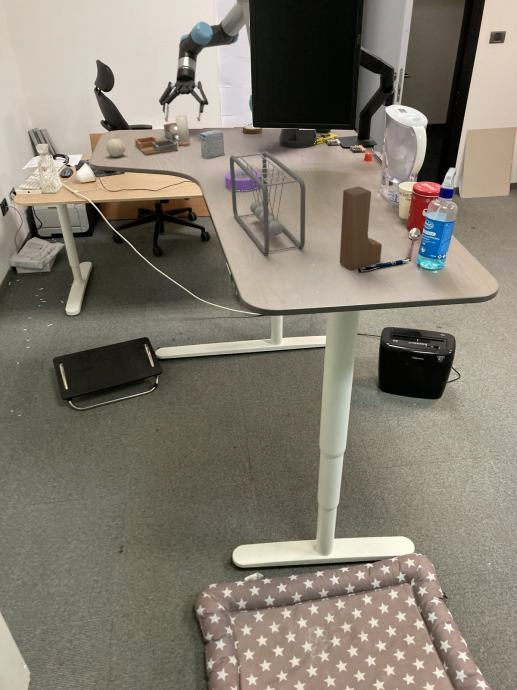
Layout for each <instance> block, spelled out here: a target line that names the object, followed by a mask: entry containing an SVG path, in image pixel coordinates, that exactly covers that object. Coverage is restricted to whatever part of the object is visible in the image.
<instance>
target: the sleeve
mask: <svg viewBox="0 0 517 690" xmlns="http://www.w3.org/2000/svg"><path fill="white" fill-rule="evenodd" d="M175 121H176V122H175V123H177V132H178V140H179V141H178V143H177V144H178V147H181V146H186V147H189V145H190V146H191V140H190V133H189V125H188V124H189V122H188V116H187V115H177V116H175Z"/></svg>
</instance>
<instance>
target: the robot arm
mask: <svg viewBox="0 0 517 690" xmlns="http://www.w3.org/2000/svg"><path fill="white" fill-rule="evenodd" d="M244 27H245V28H246V34H247V38H248V39H247V41H248V45H249V47H250V26H249V0H236V3H235V4H234V5H233V6H232V8H231V9H230V10H229V12H228V13H227V14H226V15H225V16H224V18H223V19H222V20H221V21H220V23H219V24H213V25H212V24H211V25H210V24H209V23H207V22H205V21H198V22H197V23H196V24H195V25H194V26H193V28H192V29H191V31H190V32H189V33H186V34H184V35H182V36H181V37H180V40H179V47H178V48H179V49H178V60H177V70H176V79H175V80H176V81H175V82H174V83H172V81H168V82H167V87H166V88H165V90H164V92H163V93H162V94H161V96H160V98H159V99H158V102H159V104H160V106H162V112H163V114H164V116H163V118H164V120H165V122H169V112H170V106H169V105H170V104H171V103H172V102H173V101H174V100H175V99H176V98H177V97H178V96H180V95H190V94H191V96H192V97H193V98H194V99H195V101H197V110H196V111H197V112H196V119H197V122H201V115H202V114H203V113H204V108H205V106H208V105H209V101H208V98H207V96H206V94H205V92H204V90H203V84H202V82H201V81H200V80H199V81H197V82H195V81H196V71H197V60H198V56H199V54H201V52H202V51H203V50H204V49H205V48H213V47H219V46H230V45H232V44H233V45H234V44H235V43H237V42H238V41H239V39H238V38H239V35H240V33H239V32H240V31H241V30H242V29H243V28H244ZM196 88H197V89H198V90H199V93H200V95H201V97H202V98H201V97H200V96H199V95H198V94H197V92H196V91H195V89H196ZM248 102H249V103H248V104H249V108H250V109H249V110H250V112H251V113H252V95H251V94H250V96H249V101H248ZM278 140H279V142H278V143H279V145H280V146H281V147H285V148H291V149H292V148H293V149H295V148H296V149H298V148H299V149H300V148H309V147H312V146H314V143H315V141H316V140H317V141H318V135H317V133H316V129H315V130H299V129H282V128H281V130H280V135H279V138H278Z"/></svg>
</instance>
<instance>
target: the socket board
mask: <svg viewBox="0 0 517 690" xmlns="http://www.w3.org/2000/svg"><path fill="white" fill-rule="evenodd" d="M134 142H135V143H134V144H135V147H138V148H139V149H140V150H141V151H142V152H143V153H144V154H145V155H147V156H152V155H153V154H154V155H159V154H160V153H161V154H165V153H166V152H167V153H172V151H174V152H178V143H177V142H174V141H172V140H169V139H167V138H166V139H159V140H158V139H157V138H156V137H155V136H149V137H147V136H146V137H142V138H135V139H134ZM138 148H137V149H138ZM139 149H138V150H139ZM140 150H139V151H140ZM141 151H140V152H141ZM143 153H142V154H143ZM144 154H143V155H144ZM145 155H144V156H145ZM154 155H153V156H154Z"/></svg>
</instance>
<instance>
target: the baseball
mask: <svg viewBox="0 0 517 690" xmlns="http://www.w3.org/2000/svg"><path fill="white" fill-rule="evenodd" d="M105 145H106V146H105V149H106V152H107V153H108V155H109V156H111V157H114V158H118V157H121V156H122V155H123V154H124V153H125V152H126V145H125V143H124V142H123V141H122V140H121V139H119V138H111V139H108V141H106V144H105Z"/></svg>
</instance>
